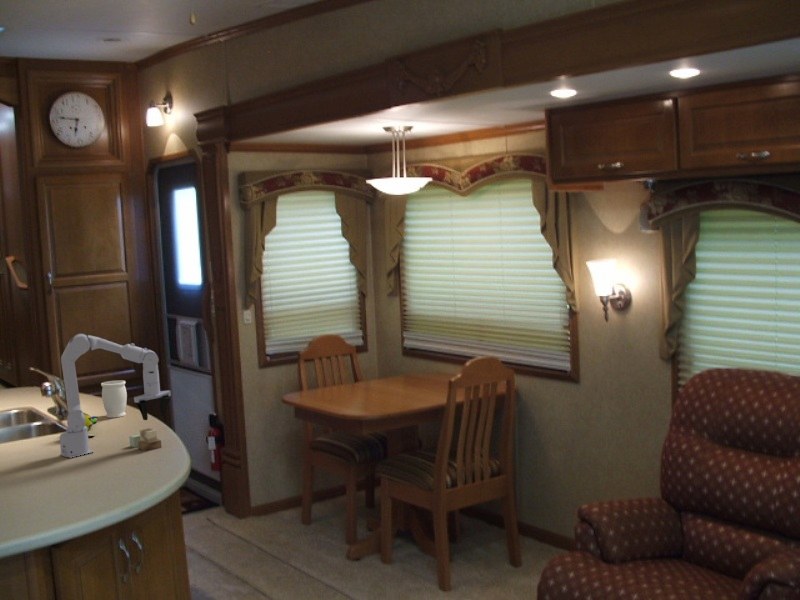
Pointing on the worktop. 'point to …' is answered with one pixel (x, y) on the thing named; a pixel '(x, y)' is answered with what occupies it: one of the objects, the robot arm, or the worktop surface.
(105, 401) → the jar
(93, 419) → the toy
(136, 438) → the sage brick
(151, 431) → the maple brick
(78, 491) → the worktop surface
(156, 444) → the walnut slab
